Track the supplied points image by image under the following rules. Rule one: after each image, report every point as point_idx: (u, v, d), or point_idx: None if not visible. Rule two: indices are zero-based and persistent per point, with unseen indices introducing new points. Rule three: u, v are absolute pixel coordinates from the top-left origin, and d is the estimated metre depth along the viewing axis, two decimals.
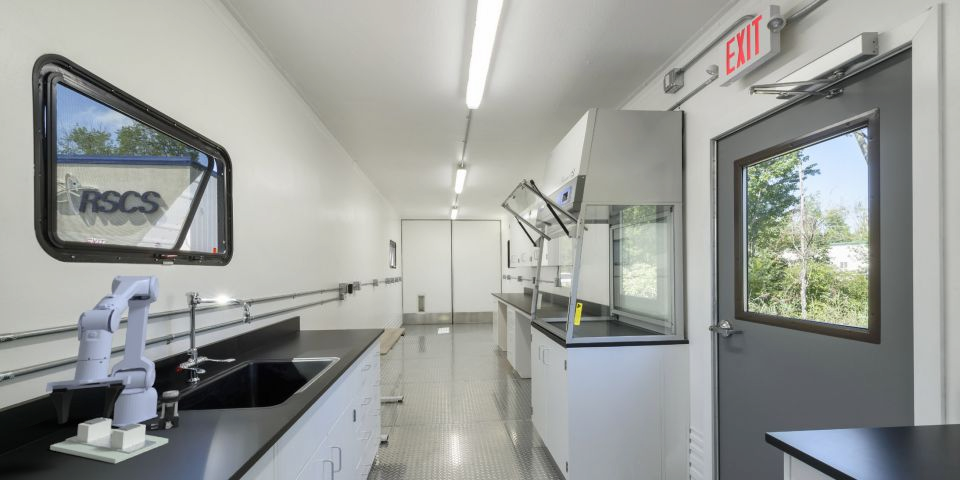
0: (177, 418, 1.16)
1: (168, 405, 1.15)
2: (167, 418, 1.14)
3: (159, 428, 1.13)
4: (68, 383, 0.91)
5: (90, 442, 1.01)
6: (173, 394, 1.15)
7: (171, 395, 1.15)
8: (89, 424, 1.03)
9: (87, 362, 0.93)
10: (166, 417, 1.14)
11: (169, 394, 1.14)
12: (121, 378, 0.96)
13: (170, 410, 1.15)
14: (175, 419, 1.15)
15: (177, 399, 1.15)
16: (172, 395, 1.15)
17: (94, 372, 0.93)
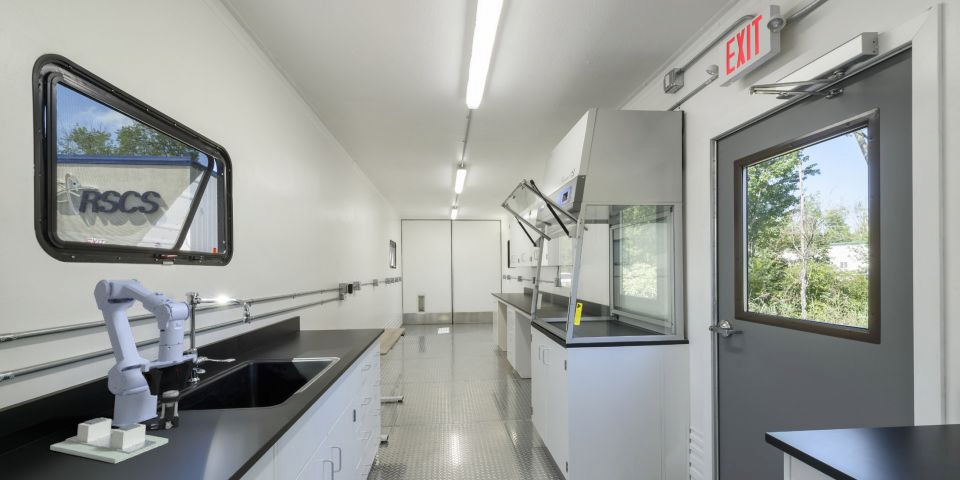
0: (177, 418, 1.16)
1: (168, 405, 1.15)
2: (167, 418, 1.14)
3: (159, 428, 1.13)
4: (163, 363, 1.12)
5: (90, 442, 1.01)
6: (173, 394, 1.15)
7: (171, 395, 1.15)
8: (89, 424, 1.03)
9: (177, 346, 1.15)
10: (166, 417, 1.14)
11: (169, 394, 1.14)
12: (193, 356, 1.21)
13: (170, 410, 1.15)
14: (175, 419, 1.15)
15: (177, 399, 1.15)
16: (172, 395, 1.15)
17: (181, 353, 1.17)
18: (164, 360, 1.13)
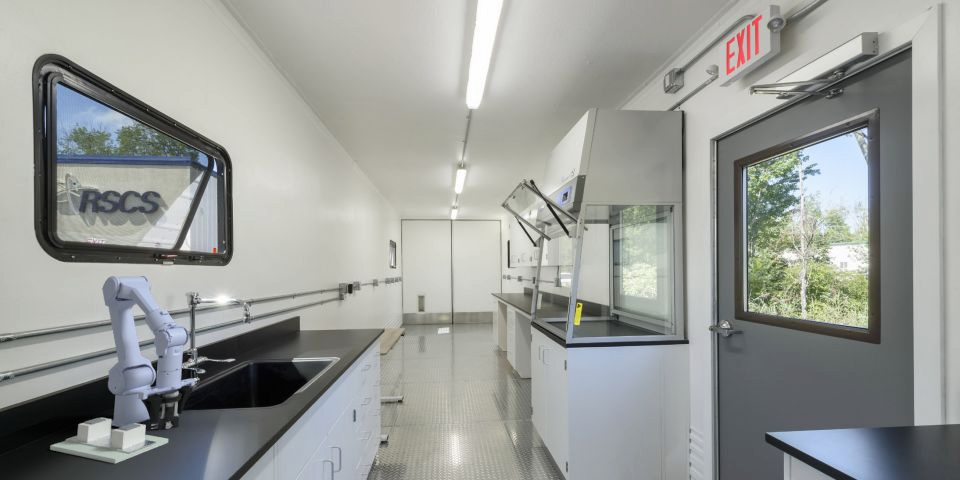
0: (177, 418, 1.16)
1: (168, 405, 1.15)
2: (167, 418, 1.14)
3: (159, 428, 1.13)
4: (162, 390, 1.12)
5: (90, 442, 1.01)
6: (173, 394, 1.15)
7: (171, 395, 1.15)
8: (89, 424, 1.03)
9: (175, 372, 1.15)
10: (166, 417, 1.14)
11: (169, 394, 1.14)
12: (191, 381, 1.21)
13: (170, 410, 1.15)
14: (175, 419, 1.15)
15: (177, 399, 1.15)
16: (172, 395, 1.15)
17: (179, 379, 1.16)
18: (162, 387, 1.13)
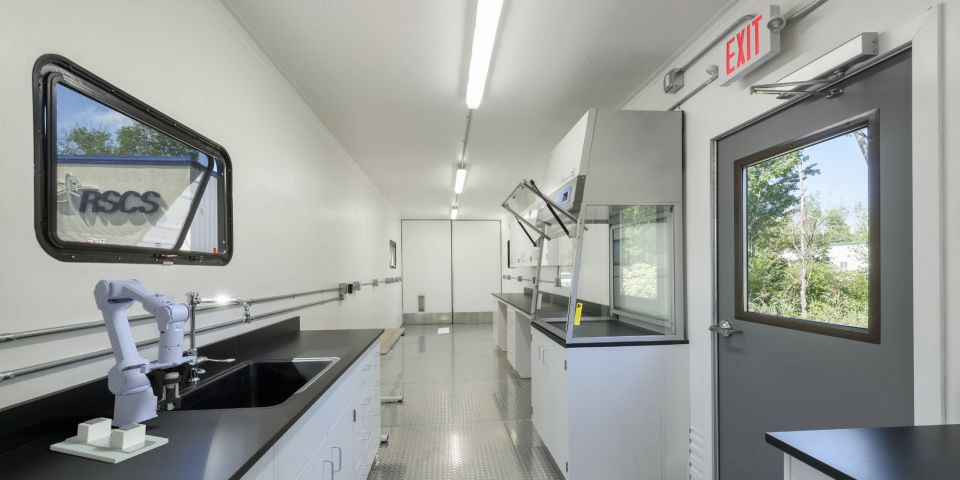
0: (179, 399, 1.15)
1: (169, 387, 1.15)
2: (168, 400, 1.14)
3: (161, 410, 1.13)
4: (163, 365, 1.13)
5: (90, 442, 1.01)
6: (173, 376, 1.15)
7: (172, 377, 1.14)
8: (89, 424, 1.03)
9: (177, 347, 1.16)
10: (167, 399, 1.14)
11: (169, 376, 1.14)
12: (192, 358, 1.22)
13: (171, 392, 1.15)
14: (177, 400, 1.15)
15: (177, 380, 1.15)
16: (172, 377, 1.15)
17: (181, 355, 1.17)
18: (164, 362, 1.13)
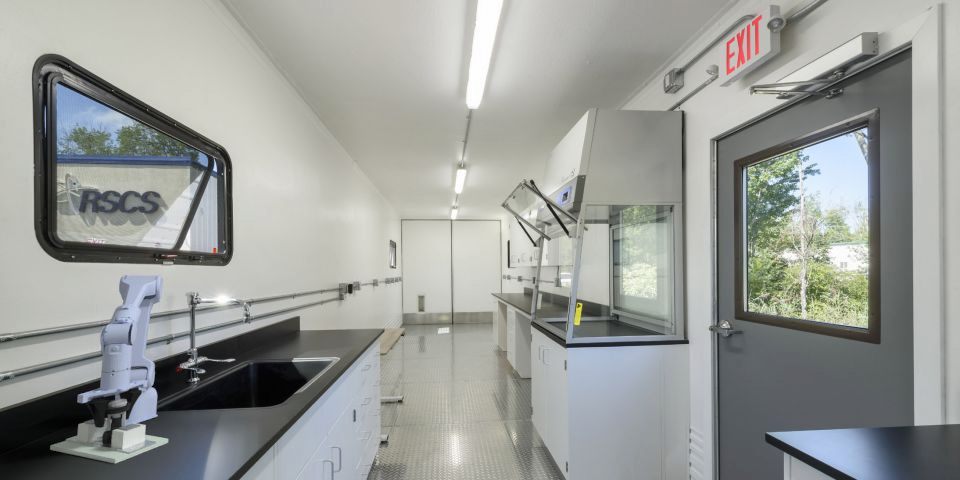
0: None
1: (114, 416, 1.02)
2: None
3: (103, 442, 1.01)
4: (105, 392, 1.00)
5: (90, 442, 1.01)
6: (120, 404, 1.02)
7: (118, 405, 1.02)
8: (89, 424, 1.03)
9: (122, 372, 1.03)
10: (111, 430, 1.01)
11: (115, 404, 1.02)
12: (143, 382, 1.09)
13: (116, 422, 1.02)
14: None
15: (124, 409, 1.03)
16: (118, 405, 1.02)
17: (127, 380, 1.04)
18: (106, 389, 1.01)
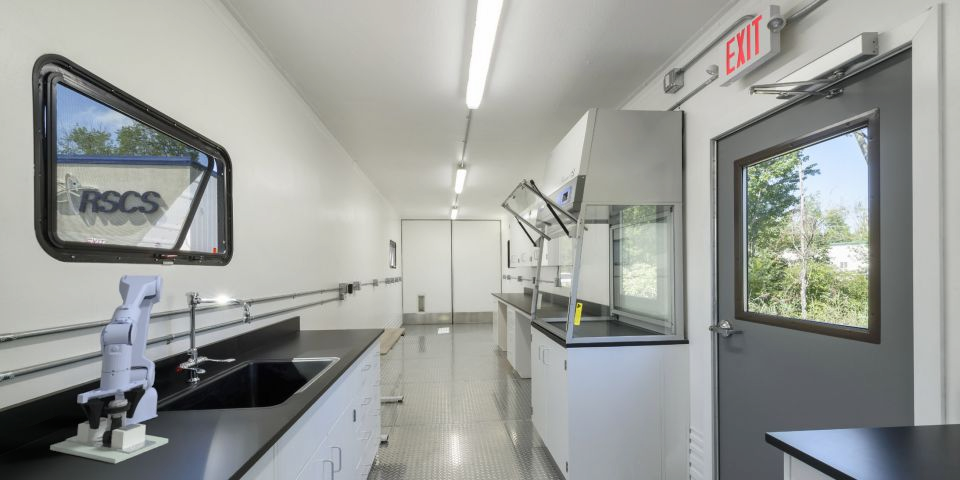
0: None
1: (114, 416, 1.02)
2: None
3: (103, 442, 1.01)
4: (105, 393, 1.00)
5: (90, 442, 1.01)
6: (120, 403, 1.02)
7: (118, 405, 1.02)
8: None
9: (122, 372, 1.03)
10: (112, 429, 1.01)
11: (115, 404, 1.02)
12: (142, 382, 1.09)
13: (117, 421, 1.02)
14: None
15: (125, 409, 1.03)
16: (119, 405, 1.02)
17: (127, 380, 1.04)
18: (106, 389, 1.01)
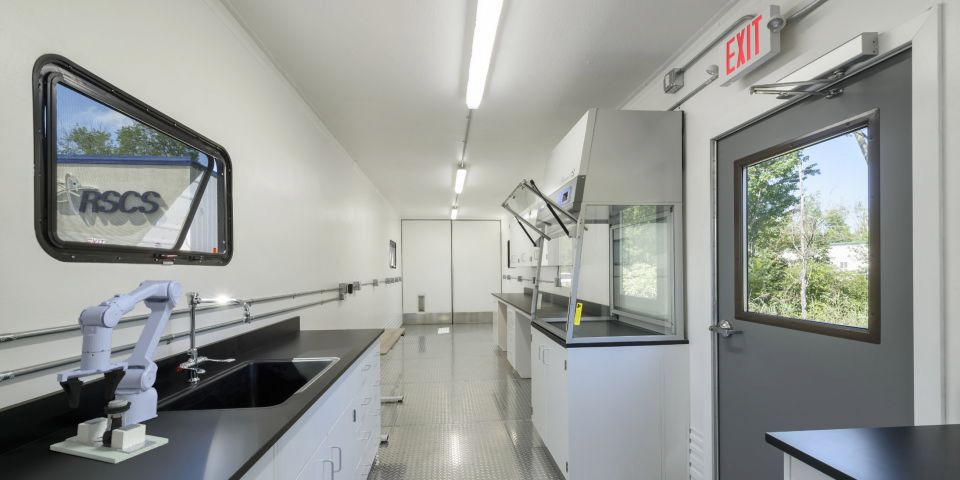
0: None
1: (114, 416, 1.02)
2: None
3: (103, 442, 1.01)
4: (85, 372, 1.03)
5: (90, 442, 1.01)
6: (120, 404, 1.02)
7: (118, 405, 1.02)
8: (89, 424, 1.03)
9: (102, 353, 1.06)
10: (112, 429, 1.01)
11: (115, 404, 1.02)
12: (123, 364, 1.12)
13: (117, 421, 1.02)
14: None
15: (125, 409, 1.03)
16: (119, 405, 1.02)
17: (107, 361, 1.07)
18: (86, 369, 1.04)
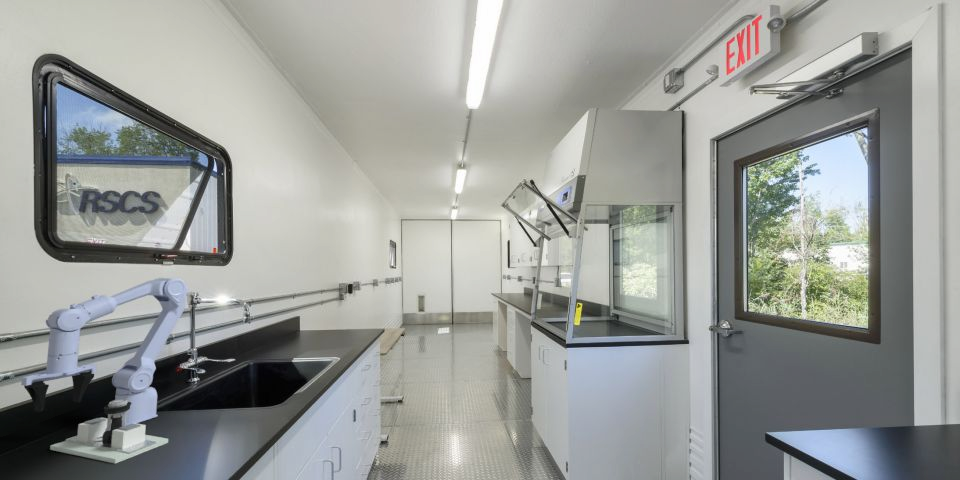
0: None
1: (114, 416, 1.02)
2: None
3: (103, 442, 1.01)
4: (50, 376, 1.02)
5: (90, 442, 1.01)
6: (120, 404, 1.02)
7: (118, 405, 1.02)
8: (89, 424, 1.03)
9: (69, 356, 1.05)
10: (112, 429, 1.01)
11: (115, 404, 1.02)
12: (91, 367, 1.11)
13: (117, 421, 1.02)
14: None
15: (125, 409, 1.03)
16: (119, 405, 1.02)
17: (74, 364, 1.06)
18: (52, 372, 1.03)
